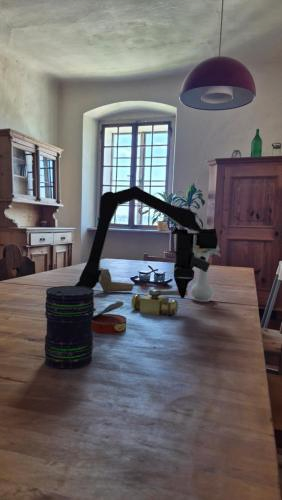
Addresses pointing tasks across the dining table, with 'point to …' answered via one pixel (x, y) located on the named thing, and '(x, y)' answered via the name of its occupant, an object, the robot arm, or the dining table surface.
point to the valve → (155, 305)
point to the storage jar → (69, 327)
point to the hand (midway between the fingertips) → (182, 295)
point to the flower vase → (203, 277)
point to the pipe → (113, 283)
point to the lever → (164, 292)
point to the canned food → (109, 321)
